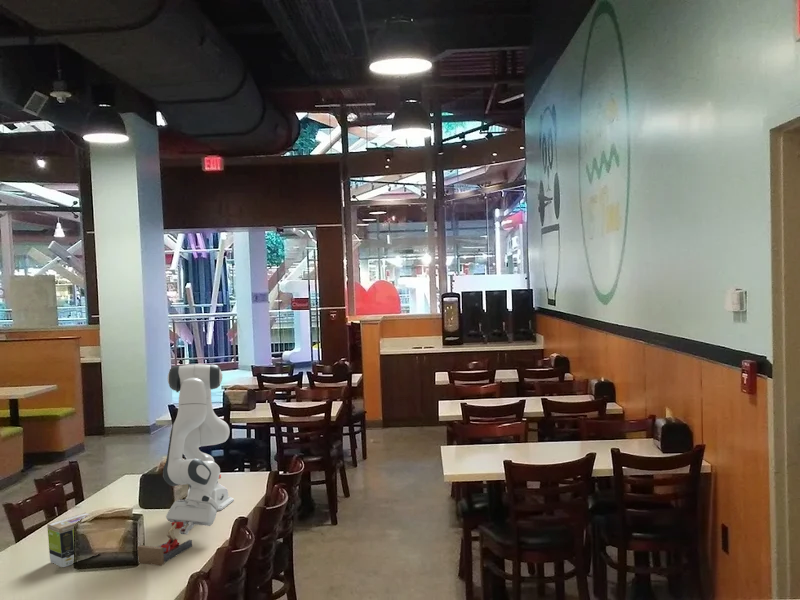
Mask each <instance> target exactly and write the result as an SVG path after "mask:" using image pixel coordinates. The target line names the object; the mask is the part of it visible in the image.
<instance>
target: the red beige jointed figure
mask: <svg viewBox="0 0 800 600" xmlns="http://www.w3.org/2000/svg"><path fill="white" fill-rule="evenodd" d="M183 526H184V525H183V522H171V528H170V529H169V530H167V533H166V537H167V538H168V541H166V542H167V544H164V543H162V544H160V545H161V547H163V552H164V554H165V553H167V552H168V551H170V550H172V549H174V548H175V547H177V546H179V545H181V543H180V542H179V540H178V539H177V538H176V537H175V535H174V532H173V531H174V530H178V529H179V530H180V529H181V528H182V527H183ZM184 527H185V526H184ZM175 538H176V539H175ZM172 541H173V542H172Z"/></svg>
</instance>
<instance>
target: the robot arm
mask: <svg viewBox="0 0 800 600" xmlns="http://www.w3.org/2000/svg"><path fill="white" fill-rule="evenodd" d="M222 382H223V372H222V370H221V367H220V366H219V365H217V364H212V363H211V364H206V363H205V364H204V363H195V364H183V365H175V366H172V367H170V369H169V371H168V373H167V384H168V386H169V388H170V389H171V390H173V391H175V392H176V393H179V395H178V403H177V404H178V406H177V407H178V408H177V415H176V418H175V420H174V421H173V424H172V426H171V429H170V431H169V434H168V435H169V441H168V450H167V455H166V460H165V462H164V466H163V470H162V477H163V479H164V481H165V483H166V484H167V485H169V486H171V487H176V486H181V485H188V487H189V488H188V490H187V496H186V497H185V499H182V498H179V499H176V500H175V501H173V503H172V505H171V507H170V508H169V509H168V510H167V511H168V512H167V513H166V515H165V517H166V520H167V521H168V522H170V523H172V522H183V525H184V526H183V527H182V528H181V529H179V531H178V533H179V534H180V535H188V534H189V532H190V531H191V530H192V529H193V528H194V526H206V527H211V526H212V525H213V524H214V522H215V520H216V516H217V513H218V512H219V511H222V510H224V508H226V507H227V506H229V505H230V504H231V503H232V502H234V501H235V498H234V497H232V496H229V492H228V491H229V490H228V488H227V487H226V486H224V485H222V484H221V483H219V480H221V478H222V474H221V468H220V465H218V464H217V463H216V462H215V459H214V457H213V456H212V455H210V454H208V453H206V452H203V451H201V450H200V449H199V448H201V447H207V446H216V445H219V444H223V443H225V442H226V441H227V440H228V439H229V437H230V431H231V430H230V426H229V424H228V423H227V422H226V421H225V420H223V419H221V418H220V417H219V416H218V415H217V414H216V413H215V411H214V408H213V401H212V390H215V389H218V388H219V387H221V384H222ZM183 455H184V457H185V459H183ZM217 511H218V512H217Z"/></svg>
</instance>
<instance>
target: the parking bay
mask: <svg viewBox="0 0 800 600" xmlns="http://www.w3.org/2000/svg"><path fill="white" fill-rule="evenodd" d="M175 539H177V538H176V537H175ZM167 542H168V541H166V542H164V543H163V544H167ZM172 542H173V541H172ZM161 545H162V544H160V545H158V546H152V545H141V544H140V545H138V546H137V557H138V556H139V562H140V563H139V562H138V563H139V564H142V565H143V564H144V565H150V566H151V565H152V566H159V567H162V566H164V565H165V563H166V562H168V561H170V560H172V559H173V558H175V557H176V555H177V556H178V555H180V554H182V553H184V552H185V551H187V550H189V549H190V548H192V547H193V540H192V539H187V540H186V541H185V542H183V543H180V545H179V546H177V547H175V548H174V549H172V550H170V551H168V552H167V553H165V554H164V552H163V547H161Z"/></svg>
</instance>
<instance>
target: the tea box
mask: <svg viewBox="0 0 800 600" xmlns="http://www.w3.org/2000/svg"><path fill="white" fill-rule="evenodd" d="M90 515H92V514H90V513H87V512H84V513H80V514H77V515H74V516H70V517H68V518H67V517H66V518H63V519H61V520H57V521H54V522H51V523H48V524H47V527H46V528H47V538H48V550H49V551H48V553H49V561H50V563H51V564H53V563H54V564H53V565H55V564H56V565H55V566H57V565H58V566H57V567H60V568H62V567H63V568H65V567H69V566H71V565H74V564H73V559H74V526H75V524H76V523H77V522H78V521H80V520H81V519H84V518H86V517H88V516H90Z"/></svg>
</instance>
